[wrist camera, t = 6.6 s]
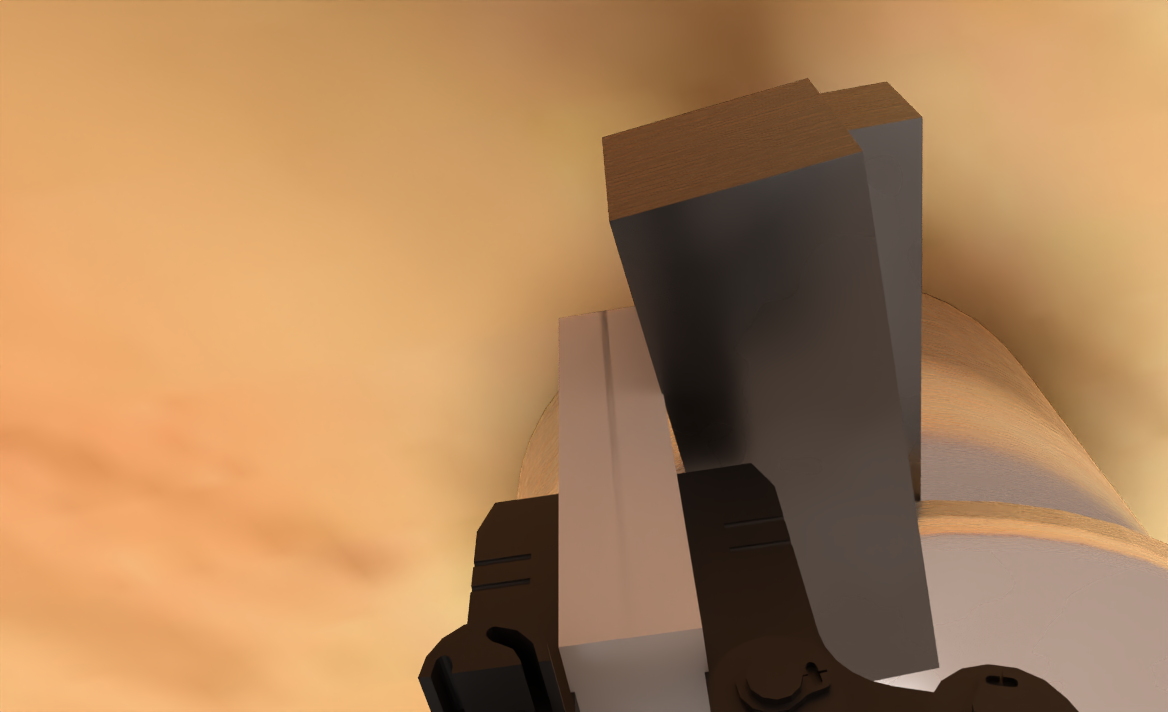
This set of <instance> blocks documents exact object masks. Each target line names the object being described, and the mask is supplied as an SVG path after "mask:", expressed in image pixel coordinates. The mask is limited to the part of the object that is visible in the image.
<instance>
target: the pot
mask: <svg viewBox="0 0 1168 712" xmlns="http://www.w3.org/2000/svg"><path fill="white" fill-rule="evenodd" d="M820 95H821V96H822V98H823V99H824V100H825V102H826V103H827V104H828V105H829V107H830V108H831V109H832V111H833V112H834V113H835V115H836V116H837V117H838V119H839V120H840V121H841V123H842V124H843V125H844V127H845V128H846V129H847V131H848V132H849V133H850V134H851V136H852V137H853V138H854V140H855V141H856V142H857V144H858V145H859V146H860V148H861V149H862V150H863V154H864V161H865V167H866V174H867V181H868V188H869V194H870V201H871V208H872V215H873V221H874V228H875V235H876V242H877V248H878V255H879V262H880V269H881V275H882V282H883V289H884V296H885V302H886V309H887V316H888V323H889V330H890V336H891V343H892V350H893V357H894V363H895V370H896V377H897V384H898V390H899V397H900V404H901V411H902V417H903V424H904V431H905V438H906V444H907V451H908V458H909V465H910V471H911V478H912V485H913V492H914V498H915V501H927V500H947V501H988V502H1004V503H1012V504H1019V505H1027V506H1034V507H1042V508H1050V509H1057V510H1063V511H1067V512H1071V513H1075V514H1079V515H1083V516H1087V517H1091V518H1095V519H1098V520H1102V521H1106V522H1110V523H1114V524H1118V525H1121V526H1123V527H1126V528H1128V529H1131V530H1133V531H1136V532H1138V533H1141V534H1143V535H1146V536H1148V537H1150V536H1149V535H1148V533H1147V532H1146V531H1145V529H1144V528H1143V527H1142V525H1141V524H1140V523H1139V521H1138V520H1137V519H1136V517H1135V516H1134V515H1133V513H1132V512H1131V511H1130V509H1129V508H1128V507H1127V505H1126V504H1125V503H1124V501H1123V500H1122V499H1121V497H1120V496H1119V495H1118V493H1117V492H1116V491H1115V489H1114V488H1113V487H1112V485H1111V484H1110V483H1109V481H1108V480H1107V479H1106V477H1105V476H1104V475H1103V473H1102V472H1101V471H1100V469H1099V468H1098V467H1097V465H1096V464H1095V463H1094V461H1093V460H1092V459H1091V457H1090V456H1089V455H1088V453H1087V452H1086V451H1085V449H1084V448H1083V447H1082V445H1081V444H1080V443H1079V441H1078V440H1077V439H1076V437H1075V436H1074V435H1073V433H1072V432H1071V431H1070V429H1069V428H1068V427H1067V425H1066V424H1065V423H1064V421H1063V420H1062V419H1061V418H1060V416H1059V415H1058V414H1057V412H1056V411H1055V410H1054V408H1053V407H1052V406H1051V404H1050V403H1049V402H1048V400H1047V399H1046V398H1045V396H1044V395H1043V394H1042V392H1041V391H1040V390H1039V388H1038V387H1037V386H1036V384H1035V383H1034V382H1033V380H1032V379H1031V378H1030V376H1029V375H1028V374H1027V372H1026V371H1025V370H1024V368H1023V367H1022V366H1021V364H1020V363H1019V362H1018V361H1017V360H1016V358H1015V357H1014V356H1013V355H1012V354H1011V353H1010V351H1009V350H1008V349H1007V348H1006V347H1005V346H1004V344H1003V343H1002V342H1001V341H1000V340H999V339H998V338H996V337H995V336H994V335H993V334H992V333H990V332H989V331H988V330H987V329H986V328H984V327H983V326H982V325H981V324H980V323H978V322H977V321H976V320H975V319H973V318H971V317H970V316H968V315H966V314H965V313H963V312H961V311H960V310H958V309H956V308H955V307H953V306H951V305H949V304H948V303H946V302H944V301H941V300H939V299H936V298H934V297H932V296H929V295H927V294H924V293H922V116H921V115H920V114H919V113H918V112H917V111H916V110H915V109H914V108H913V107H912V106H911V105H910V104H909V103H908V102H907V101H906V100H905V99H904V98H903V97H902V96H901V95H900V94H899V93H898V92H897V91H896V90H895V89H894V88H893V87H892V86H891V85H890V84H889V83H888V82H883V83H877V84H871V85H866V86H860V87H855V88H849V89H843V90H838V91H832V92H827V93H821V94H820ZM665 407H666V406H665ZM666 413H667V410H666ZM667 419H668V425H669V431H670V437H671V443H672V449H673V455H674V461H675V467H676V473H677V474H679V473H686V472H685V469H684V466H683V462H682V459H681V456H680V453H679V449H678V446H677V443H676V439H675V436H674V433H673V430H672V426H671V423H670V420H669V416H668V413H667ZM552 494H559V391H558V392H557V394H556V395H555V397H554V398H553V400H552V401H551V402H550V404H549V405H548V407H547V408H546V410H545V411H544V413H543V415H542V417H541V419H540V421H539V423H538V425H537V427H536V429H535V431H534V433H533V435H532V437H531V439H530V441H529V444H528V448H527V451H526V454H525V457H524V460H523V463H522V466H521V472H520V479H519V486H518V493H517V500H518V499H525V498H532V497H539V496H545V495H552Z"/></svg>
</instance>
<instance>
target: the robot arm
mask: <svg viewBox="0 0 1168 712" xmlns="http://www.w3.org/2000/svg"><path fill="white" fill-rule="evenodd" d="M474 564H475V567H473V575H472V585H471V587H472V592H471V594H470V603H469V613H468V622H467V624H466V625H463V626H462V627H460V628H458V629H457V630H455V631H454V632H452V633H450V634H449V635H447V636H446V637H444V638H442V639H441V641H440V642H439V643H438V644H437V645H436V646H435V647H434V649H433V650H432V651H431V652H430V653H429V654H428V655H427V657H426V659H425V661H424V664H423V666H422V669H421V672H420V674H419V677H418V679H419V682H420V684H421V687H422V690H423V692H424V695H425V697H426V700H427V702H428V705H429V708H430V710H431V712H1079V711H1078V710H1077V709H1076V708H1075V707H1074V706H1073V705H1072V703H1071V702H1070V701H1069V700H1068V699H1067V698H1066V697H1065V696H1063V695H1062V694H1061V693H1060V692H1059V691H1057V690H1056V689H1055V688H1054V687H1053V686H1051V685H1050V684H1049V683H1048V682H1047V681H1045V680H1044V679H1041V678H1039V677H1037V676H1034V675H1032V674H1030V673H1027V672H1025V671H1023V670H1021V669H1018V668H1014V667H1006V666H999V665H992V664H985V665H979V666H973V667H967V668H961V669H960V670H958V671H956V672H955V673H953V674H951V675H950V676H948V677H946V678H945V679H943V680H941V682H940V683H939V685H938V686H937V688H936V690H935V691H934V692H930V691H923V690H916V689H910V688H903V687H896V686H891V685H887V684H883V683H879V682H874V681H871V680H869V679H867V678H864V677H862V676H860V675H858V674H856V673H854V672H852V671H850V670H849V669H848V668H846V667H845V666H844V665H842V664H841V663H840V662H838V661H837V660H836V659H835V658H834V657H833V655H832V654H831V653H830V652H829V651H828V650H827V648H826V647H825V645H824V643H823V641H822V639H821V637H820V635H819V633H818V629H817V626H816V623H815V619H814V616H813V613H812V609H811V606H810V603H809V599H808V596H807V593H806V589H805V586H804V582H803V579H802V576H801V572H800V569H799V566H798V562H797V559H796V556H795V552H794V549H793V546H792V545H791V539H790V536H789V532H788V529H787V525H786V522H785V521H784V516H783V512H782V509H781V505H780V502H779V499H778V495H777V492H776V489H775V486H774V485H773V484H772V483H771V482H770V481H769V480H768V479H767V478H766V477H765V476H764V475H763V474H762V473H761V472H760V471H759V470H758V469H757V468H756V467H755V466H754V465H753V464H752V463H747V464H740V465H734V466H727V467H720V468H713V469H706V470H700V471H693V472H686V473H679V474H677V473H676V467H675V461H674V455H673V449H672V443H671V437H670V431H669V425H668V419H667V413H666V407H665V401H664V395H663V394H662V393H661V390H660V387H659V383H658V380H657V377H656V374H655V370H654V367H653V364H652V360H651V357H650V354H649V350H648V347H647V344H646V341H645V337H644V334H643V331H642V327H641V324H640V321H639V318H638V314H637V311H636V308H635V306H632V307H626V308H619V309H613V310H606V311H600V312H594V313H588V314H581V315H575V316H569V317H562V318H559V494H552V495H545V496H539V497H532V498H525V499H518V500H511V501H504V502H498V503H495V504H494V505H493V507H492V509H491V510H490V512H489V513H488V515H487V517H486V518H485V520H484V521H483V523H482V525H481V526H480V528H479V529H478V531H477V538H476V547H475V556H474Z"/></svg>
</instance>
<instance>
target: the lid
mask: <svg viewBox="0 0 1168 712" xmlns="http://www.w3.org/2000/svg"><path fill="white" fill-rule="evenodd" d="M602 143H603V154H604V166H605V178H606V189H607V201H608V212H609V222H610V225H611V229H612V232H613V235H614V238H615V242H616V245H617V248H618V252H619V255H620V258H621V262H622V265H623V268H624V271H625V275H626V278H627V281H628V285H629V288H630V291H631V294H632V298H633V301H634V304H635V308H636V311H637V314H638V318H639V321H640V324H641V327H642V331H643V334H644V337H645V341H646V344H647V347H648V350H649V354H650V357H651V360H652V364H653V367H654V370H655V374H656V377H657V380H658V383H659V387H660V390H661V393H662V394H663V395H664V401H665V406H666V410H667V413H668V416H669V420H670V423H671V426H672V430H673V433H674V436H675V439H676V443H677V446H678V449H679V453H680V456H681V459H682V462H683V466H684V469H685V472H693V471H700V470H706V469H713V468H720V467H727V466H734V465H740V464H747V463H752V464H753V465H754V466H755V467H756V468H757V469H758V470H759V471H760V472H761V473H762V474H763V475H764V476H765V477H766V478H767V479H768V480H769V481H770V482H771V483H772V484H773V485H774V486H775V489H776V492H777V495H778V499H779V502H780V505H781V509H782V512H783V516H784V521H785V522H786V525H787V529H788V532H789V536H790V539H791V545H792V546H793V549H794V552H795V556H796V559H797V562H798V566H799V569H800V572H801V576H802V579H803V582H804V586H805V589H806V593H807V596H808V599H809V603H810V606H811V609H812V613H813V616H814V619H815V623H816V626H817V629H818V633H819V635H820V637H821V639H822V641H823V643H824V645H825V647H826V648H827V650H828V651H829V652H830V653H831V654H832V655H833V657H834V658H835V659H836V660H837V661H838V662H840V663H841V664H842V665H844V666H845V667H846V668H848V669H849V670H850V671H852V672H854V673H856V674H858V675H860V676H862V677H864V678H867V679H869V680H871V681H874V682H879V683H883V684H887V685H891V686H896V687H903V688H910V689H916V690H923V691H930V692H934V691H935V690H936V688H937V686H938V685H939V683H940V682H941V680H943V679H945V678H946V677H948V676H950V675H951V674H953V673H955V672H956V671H958V670H960V669H961V668H967V667H973V666H979V665H985V664H992V665H999V666H1006V667H1014V668H1018V669H1021V670H1023V671H1025V672H1027V673H1030V674H1032V675H1034V676H1037V677H1039V678H1041V679H1044V680H1045V681H1047V682H1048V683H1049V684H1050V685H1051V686H1053V687H1054V688H1055V689H1056V690H1057V691H1059V692H1060V693H1061V694H1062V695H1063V696H1065V697H1066V698H1067V699H1068V700H1069V701H1070V702H1071V703H1072V705H1073V706H1074V707H1075V708H1076V709H1077V710H1078V711H1079V712H1168V544H1166V543H1163V542H1161V541H1158V540H1156V539H1153V538H1151V537H1148V536H1146V535H1143V534H1141V533H1138V532H1136V531H1133V530H1131V529H1128V528H1126V527H1123V526H1121V525H1118V524H1114V523H1110V522H1106V521H1102V520H1098V519H1095V518H1091V517H1087V516H1083V515H1079V514H1075V513H1071V512H1067V511H1063V510H1057V509H1050V508H1042V507H1034V506H1027V505H1019V504H1012V503H1004V502H988V501H947V500H927V501H915V498H914V492H913V485H912V478H911V471H910V465H909V458H908V451H907V444H906V438H905V431H904V424H903V417H902V411H901V404H900V397H899V390H898V384H897V377H896V370H895V363H894V357H893V350H892V343H891V336H890V330H889V323H888V316H887V309H886V302H885V296H884V289H883V282H882V275H881V269H880V262H879V255H878V248H877V242H876V235H875V228H874V221H873V215H872V208H871V201H870V194H869V188H868V181H867V174H866V167H865V161H864V154H863V150H862V149H861V148H860V146H859V145H858V144H857V142H856V141H855V140H854V138H853V137H852V136H851V134H850V133H849V132H848V131H847V129H846V128H845V127H844V125H843V124H842V123H841V121H840V120H839V119H838V117H837V116H836V115H835V113H834V112H833V111H832V109H831V108H830V107H829V105H828V104H827V103H826V102H825V100H824V99H823V98H822V96H821V95H820V94H819V92H818V91H817V90H816V88H815V87H814V86H813V84H812V83H811V82H810V80H809V79H808V78H806V79H803V80H799V81H796V82H793V83H789V84H786V85H782V86H779V87H775V88H772V89H768V90H765V91H761V92H758V93H754V94H751V95H748V96H744V97H741V98H737V99H734V100H730V101H727V102H723V103H720V104H716V105H713V106H710V107H706V108H703V109H699V110H696V111H692V112H689V113H685V114H682V115H678V116H675V117H671V118H668V119H665V120H661V121H658V122H654V123H651V124H647V125H644V126H640V127H637V128H633V129H630V130H627V131H623V132H620V133H616V134H613V135H609V136H606V137H602Z"/></svg>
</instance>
